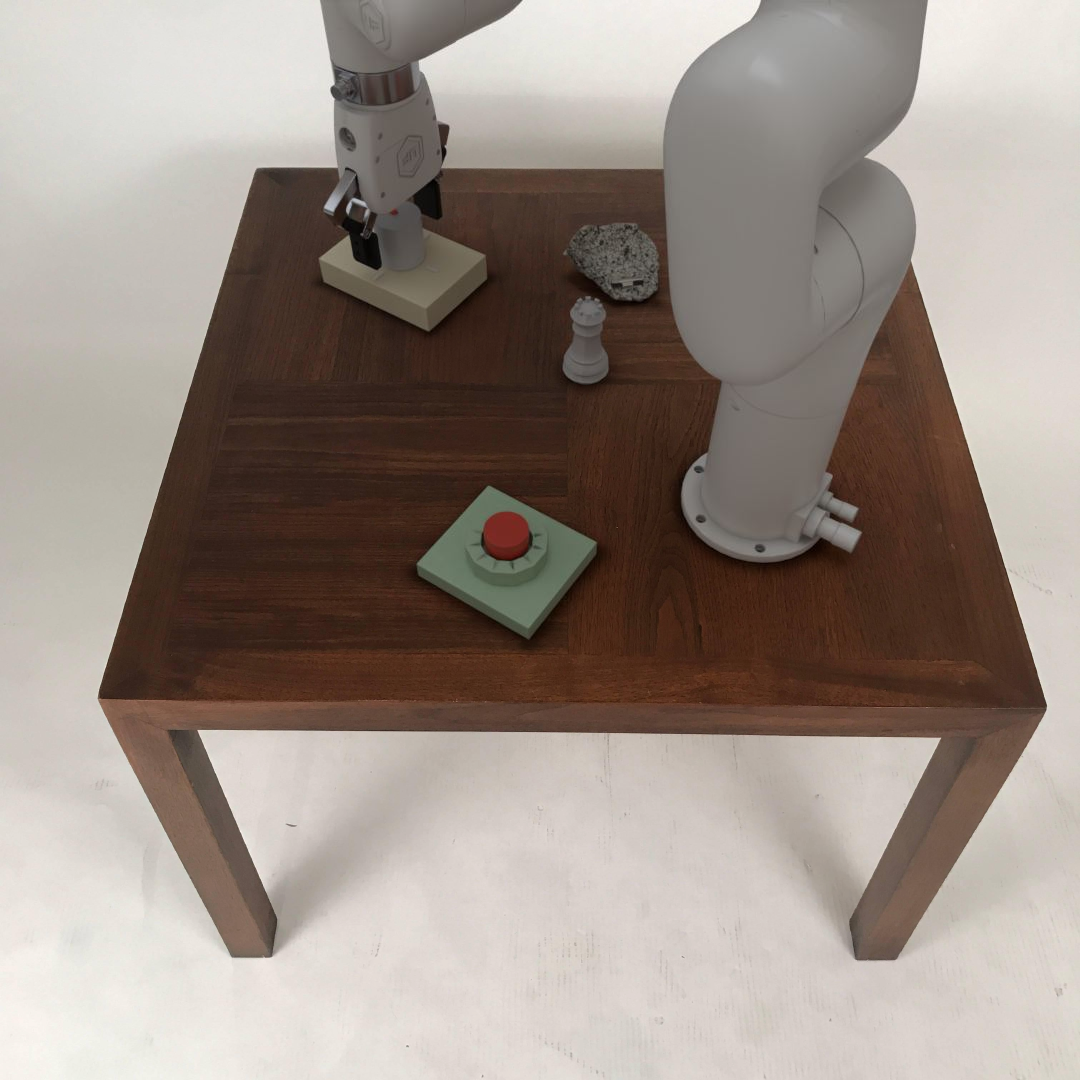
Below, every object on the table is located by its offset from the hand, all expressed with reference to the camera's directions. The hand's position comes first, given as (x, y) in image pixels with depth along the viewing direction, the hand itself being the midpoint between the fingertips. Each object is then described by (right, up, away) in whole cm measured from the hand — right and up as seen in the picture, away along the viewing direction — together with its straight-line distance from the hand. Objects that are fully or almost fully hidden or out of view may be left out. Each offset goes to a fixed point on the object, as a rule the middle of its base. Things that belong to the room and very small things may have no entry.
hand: (399, 238), depth 99 cm
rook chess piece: (+19, -14, -4) cm, 24 cm away
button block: (+12, -32, -18) cm, 39 cm away
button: (+12, -31, -20) cm, 39 cm away
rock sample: (+23, -3, +4) cm, 24 cm away
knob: (0, -1, +2) cm, 2 cm away
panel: (0, -3, +4) cm, 5 cm away
